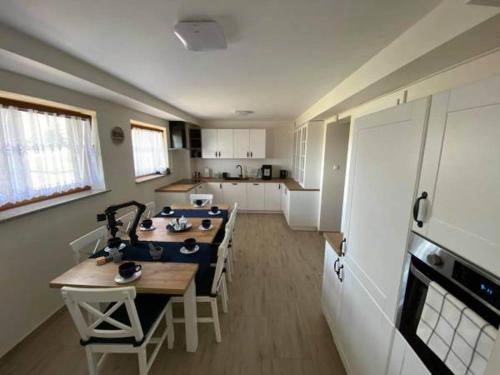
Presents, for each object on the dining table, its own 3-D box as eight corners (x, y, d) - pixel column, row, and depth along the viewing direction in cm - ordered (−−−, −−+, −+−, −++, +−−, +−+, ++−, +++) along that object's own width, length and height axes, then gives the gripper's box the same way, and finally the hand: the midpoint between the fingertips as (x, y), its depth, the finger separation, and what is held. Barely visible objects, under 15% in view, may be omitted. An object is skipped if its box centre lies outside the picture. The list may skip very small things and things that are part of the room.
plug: (122, 255, 175) (121, 251, 174) (123, 257, 172) (123, 253, 171) (94, 263, 162) (94, 258, 162) (95, 265, 159) (95, 261, 158)
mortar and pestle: (165, 254, 177) (164, 241, 174) (159, 260, 167) (158, 246, 165) (152, 254, 178) (151, 240, 175) (146, 259, 168) (145, 245, 166)
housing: (116, 253, 177) (116, 247, 176) (121, 261, 166) (120, 254, 165) (109, 255, 174) (108, 249, 173) (113, 263, 162) (113, 256, 161)
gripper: (124, 220, 179) (126, 237, 181) (119, 215, 192) (121, 231, 195) (109, 223, 171) (111, 241, 174) (105, 217, 184) (106, 234, 187)
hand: (113, 236), depth 182 cm, fingers open, 9 cm apart
